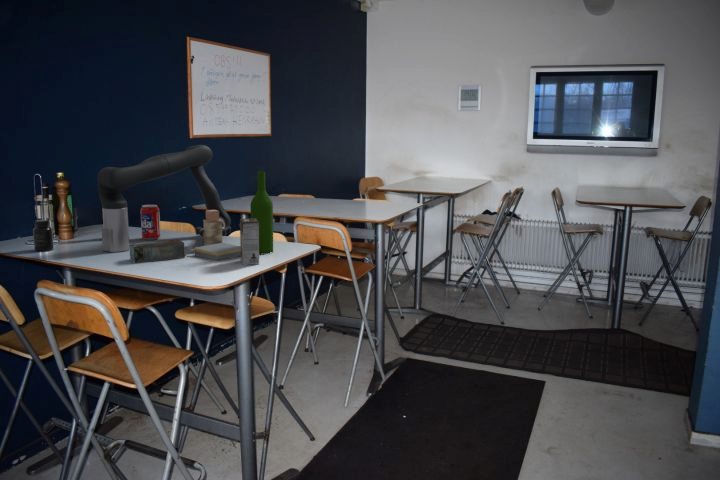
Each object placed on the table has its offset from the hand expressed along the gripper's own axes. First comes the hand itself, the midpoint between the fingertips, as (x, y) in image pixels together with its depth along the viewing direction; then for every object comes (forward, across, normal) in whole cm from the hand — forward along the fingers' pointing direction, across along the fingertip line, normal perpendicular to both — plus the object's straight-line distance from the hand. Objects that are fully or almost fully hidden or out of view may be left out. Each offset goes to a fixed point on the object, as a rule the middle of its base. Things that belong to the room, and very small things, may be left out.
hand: (212, 233), depth 240 cm
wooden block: (-1, 0, +7) cm, 7 cm away
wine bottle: (+6, +20, +7) cm, 22 cm away
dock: (+11, +4, +7) cm, 13 cm away
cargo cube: (-1, 0, -5) cm, 5 cm away
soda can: (-25, -29, +7) cm, 39 cm away
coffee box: (+24, +16, +7) cm, 30 cm away
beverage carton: (+16, -19, +7) cm, 26 cm away
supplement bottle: (-3, -66, +7) cm, 66 cm away
